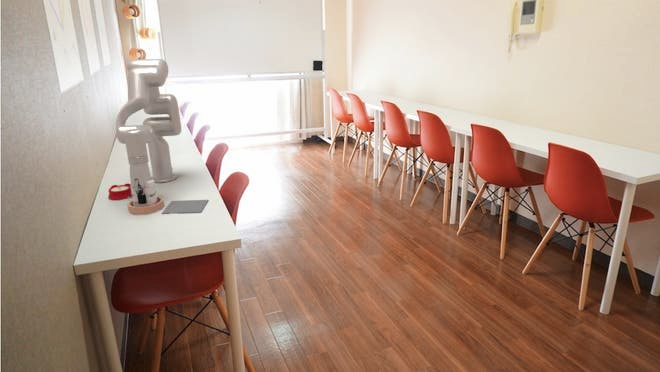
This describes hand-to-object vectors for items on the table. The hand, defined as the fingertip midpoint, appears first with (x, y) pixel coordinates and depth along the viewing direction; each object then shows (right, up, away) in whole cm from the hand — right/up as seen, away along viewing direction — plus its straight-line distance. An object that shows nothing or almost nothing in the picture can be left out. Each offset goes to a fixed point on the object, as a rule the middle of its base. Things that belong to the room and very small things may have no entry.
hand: (145, 200), depth 184 cm
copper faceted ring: (0, -3, +1) cm, 4 cm away
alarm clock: (-18, +2, +18) cm, 26 cm away
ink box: (0, -3, +1) cm, 4 cm away
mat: (+17, -3, +2) cm, 17 cm away
